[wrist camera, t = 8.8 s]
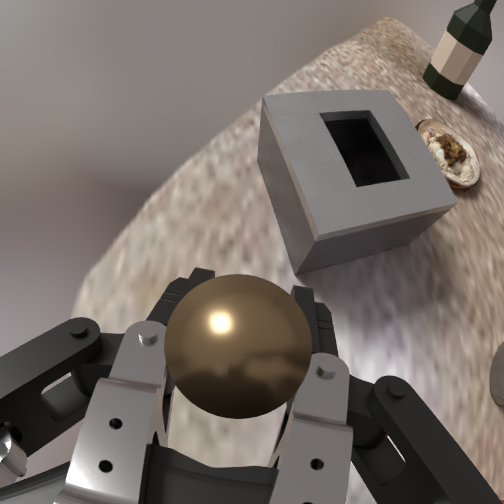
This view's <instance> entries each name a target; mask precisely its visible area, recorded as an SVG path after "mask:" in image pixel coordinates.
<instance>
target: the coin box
mask: <svg viewBox="0 0 504 504" xmlns="http://www.w3.org/2000/svg"><path fill="white" fill-rule="evenodd" d="M350 153H359V155H360V156H361V158H362V160H363V162H364V164H365V166H366V168H367V170H368V172H369V174H370V176H371V178H372V180H373V182H374V184H373V185H367V186H362V187H356V185H355V183H354V181H353V179H352V176H351V174H350V172H349V170H348V168H347V166H346V164H345V162H344V160H343V158H342V156H341V155H342V154H350ZM257 161H258V164H259V167H260V170H261V173H262V176H263V179H264V182H265V185H266V188H267V191H268V194H269V197H270V200H271V203H272V206H273V209H274V212H275V215H276V218H277V221H278V224H279V227H280V231H281V234H282V237H283V240H284V243H285V246H286V249H287V253H288V256H289V259H290V262H291V265H292V269H293V272H294V275H298V274H302V273H306V272H309V271H313V270H317V269H321V268H324V267H328V266H332V265H336V264H339V263H343V262H347V261H350V260H354V259H358V258H361V257H365V256H368V255H372V254H375V253H379V252H382V251H386V250H389V249H393V248H396V247H400V246H403V245H407V244H409V243H410V242H411V241H413V240H414V239H415V238H416V237H418V236H419V235H420V234H421V233H423V232H424V231H425V230H426V229H427V228H429V227H430V226H431V225H432V224H434V223H435V222H436V221H437V220H438V219H439V218H441V217H442V216H443V215H444V214H445V213H447V212H448V211H449V210H450V209H451V208H452V207H454V206H455V205H456V204H457V203H458V202H457V200H456V198H455V196H454V194H453V192H452V190H451V188H450V186H449V184H448V182H447V180H446V178H445V177H444V175H443V173H442V171H441V169H440V168H439V166H438V164H437V162H436V161H435V159H434V157H433V155H432V154H431V152H430V150H429V149H428V147H427V145H426V144H425V142H424V141H423V139H422V137H421V136H420V134H419V133H418V131H417V130H416V128H415V127H414V125H413V124H412V122H411V121H410V119H409V118H408V116H407V115H406V113H405V112H404V110H403V109H402V108H401V106H400V105H399V103H398V102H397V101H396V99H395V98H394V97H393V95H392V94H391V93H390V91H388V90H334V91H313V92H299V93H287V94H277V95H268V96H263V97H262V109H261V121H260V133H259V145H258V157H257Z"/></svg>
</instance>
